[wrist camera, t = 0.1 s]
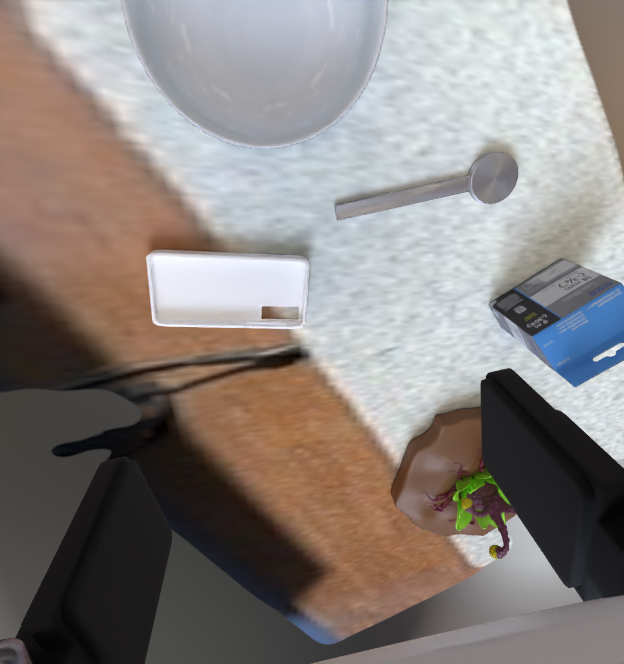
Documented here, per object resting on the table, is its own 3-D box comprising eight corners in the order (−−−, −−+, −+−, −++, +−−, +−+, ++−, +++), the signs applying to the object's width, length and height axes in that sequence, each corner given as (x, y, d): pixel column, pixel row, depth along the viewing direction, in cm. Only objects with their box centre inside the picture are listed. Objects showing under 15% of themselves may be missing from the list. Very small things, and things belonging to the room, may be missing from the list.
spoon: (331, 187, 38) (332, 188, 37) (514, 146, 38) (519, 146, 38) (339, 236, 40) (340, 238, 39) (513, 197, 40) (518, 198, 40)
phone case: (308, 255, 41) (149, 248, 39) (310, 259, 39) (145, 252, 38) (303, 324, 44) (156, 320, 42) (304, 329, 43) (152, 326, 41)
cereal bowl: (146, 128, 35) (120, 127, 28) (144, -146, 28) (109, -229, 21) (344, 161, 37) (361, 166, 31) (386, -81, 30) (419, -137, 24)
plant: (368, 506, 56) (390, 586, 46) (440, 392, 49) (486, 457, 39) (486, 534, 62) (529, 611, 52) (566, 434, 55) (635, 501, 45)
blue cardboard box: (562, 255, 44) (664, 296, 32) (573, 283, 45) (674, 332, 34) (486, 302, 45) (560, 358, 34) (500, 328, 47) (574, 389, 36)
